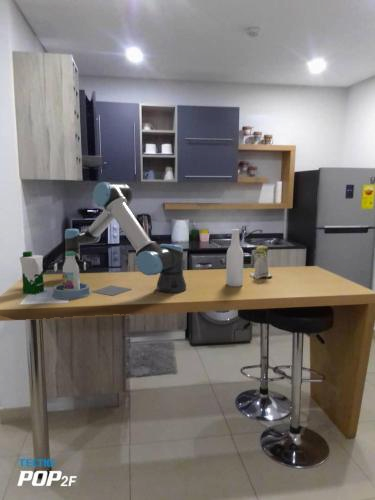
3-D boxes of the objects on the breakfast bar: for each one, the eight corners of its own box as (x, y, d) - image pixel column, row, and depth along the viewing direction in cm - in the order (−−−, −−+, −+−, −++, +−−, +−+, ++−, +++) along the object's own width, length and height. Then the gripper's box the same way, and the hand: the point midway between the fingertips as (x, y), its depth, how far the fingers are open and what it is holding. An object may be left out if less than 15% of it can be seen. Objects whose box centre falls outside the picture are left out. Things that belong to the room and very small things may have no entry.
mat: (131, 289, 183) (131, 289, 183) (112, 296, 171) (112, 295, 171) (111, 285, 190) (110, 285, 190) (91, 291, 178) (91, 291, 178)
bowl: (98, 292, 177) (98, 285, 176) (70, 301, 162) (69, 293, 161) (73, 287, 186) (72, 280, 185) (44, 296, 171) (44, 288, 170)
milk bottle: (74, 289, 179) (72, 250, 176) (83, 292, 174) (81, 251, 171) (60, 292, 173) (58, 251, 170) (69, 295, 168) (67, 253, 165)
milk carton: (31, 289, 183) (28, 250, 179) (47, 290, 181) (44, 251, 178) (19, 294, 174) (17, 253, 171) (36, 295, 172) (34, 254, 169)
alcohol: (245, 285, 192) (247, 229, 187) (233, 287, 187) (234, 230, 182) (235, 281, 199) (236, 228, 194) (222, 284, 195) (223, 228, 190)
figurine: (276, 278, 208) (277, 246, 206) (256, 279, 204) (257, 247, 201) (265, 273, 220) (266, 244, 217) (246, 275, 216) (247, 244, 213)
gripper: (96, 265, 197) (97, 274, 177) (47, 267, 191) (42, 276, 170) (95, 252, 196) (96, 259, 176) (47, 253, 189) (42, 261, 169)
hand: (70, 267), depth 173 cm, fingers open, 13 cm apart
